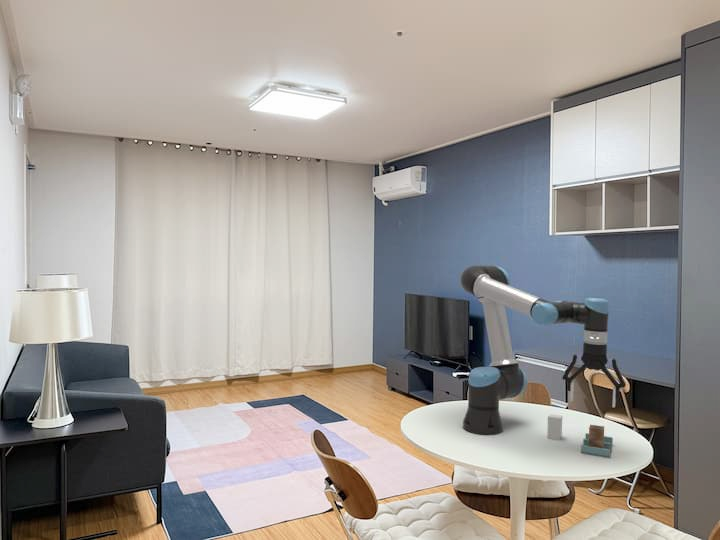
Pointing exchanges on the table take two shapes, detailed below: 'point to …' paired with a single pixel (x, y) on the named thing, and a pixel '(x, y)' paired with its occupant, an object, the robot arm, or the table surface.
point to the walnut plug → (596, 436)
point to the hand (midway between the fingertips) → (592, 403)
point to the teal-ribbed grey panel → (595, 450)
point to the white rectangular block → (554, 427)
